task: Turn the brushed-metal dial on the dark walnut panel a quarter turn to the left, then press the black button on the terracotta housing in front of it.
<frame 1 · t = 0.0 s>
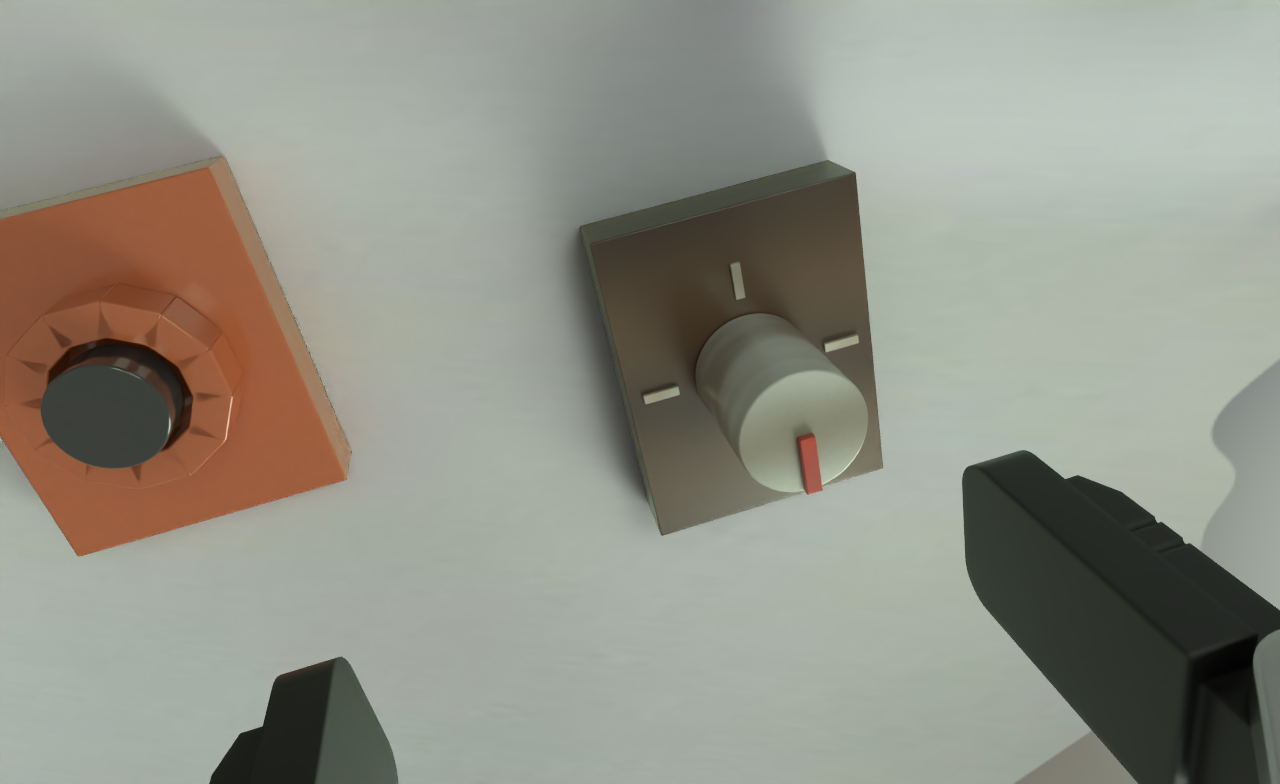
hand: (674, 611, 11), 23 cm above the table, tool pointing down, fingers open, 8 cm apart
button housing: (156, 353, 31), on the table
button: (115, 406, 27), point 4 cm above the table, slide at 0.1 cm
dial panel: (732, 344, 36), on the table
dial: (777, 400, 31), point 5 cm above the table, hinge at 0.0°
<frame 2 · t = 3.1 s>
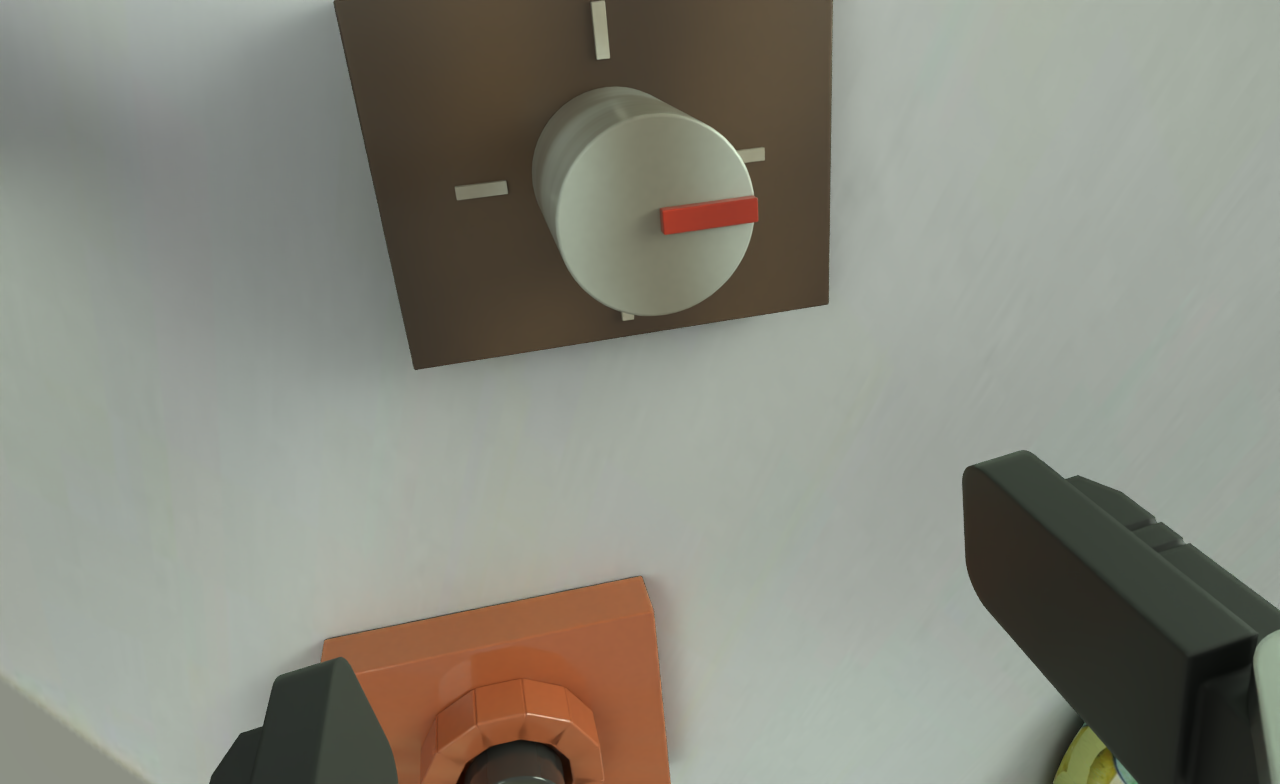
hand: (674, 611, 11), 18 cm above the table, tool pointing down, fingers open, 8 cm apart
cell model: (1122, 729, 44), on the table
button housing: (507, 703, 35), on the table
dial panel: (598, 156, 26), on the table
dial: (634, 195, 22), point 5 cm above the table, hinge at 0.0°
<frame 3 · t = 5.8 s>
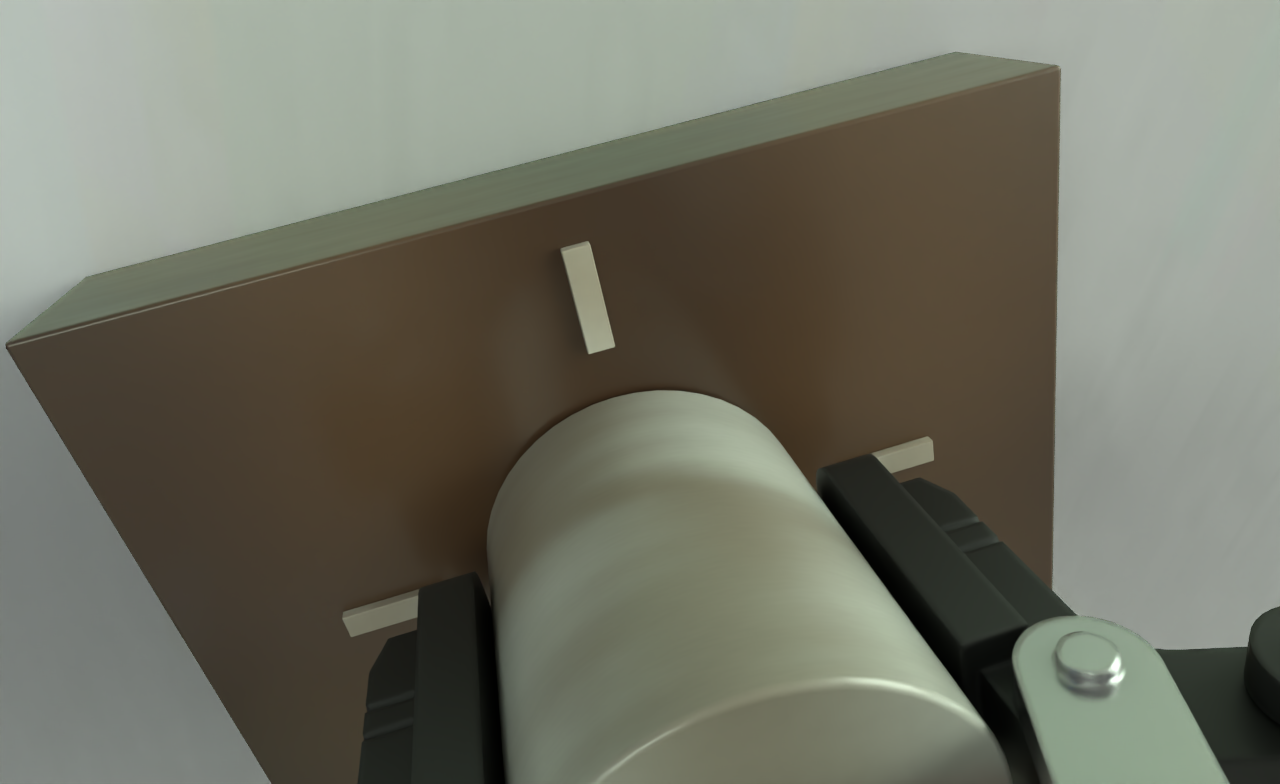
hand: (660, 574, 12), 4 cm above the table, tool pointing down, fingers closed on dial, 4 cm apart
dial panel: (616, 448, 15), on the table
dial: (700, 674, 10), point 5 cm above the table, hinge at -0.1°, touching gripper
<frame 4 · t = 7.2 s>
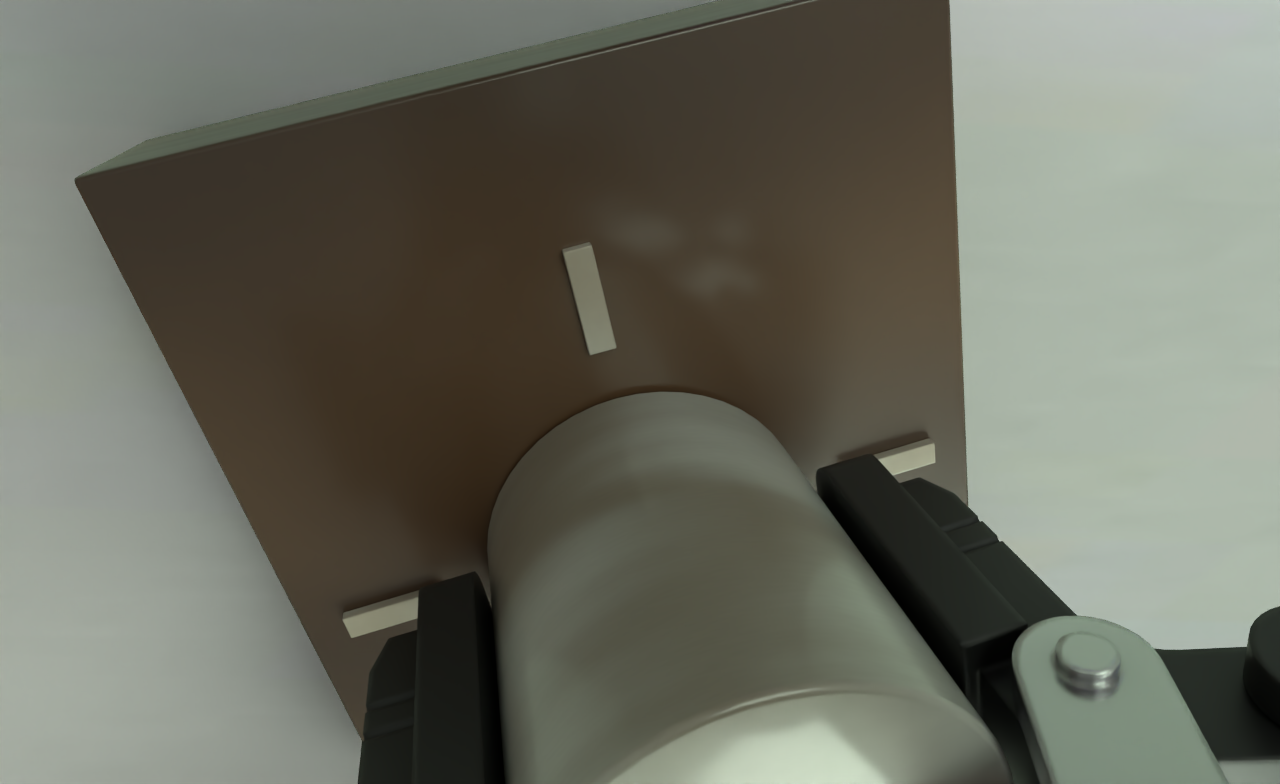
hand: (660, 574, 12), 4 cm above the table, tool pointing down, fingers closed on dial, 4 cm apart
dial panel: (617, 449, 15), on the table
dial: (701, 677, 10), point 5 cm above the table, hinge at 89.5°, touching gripper
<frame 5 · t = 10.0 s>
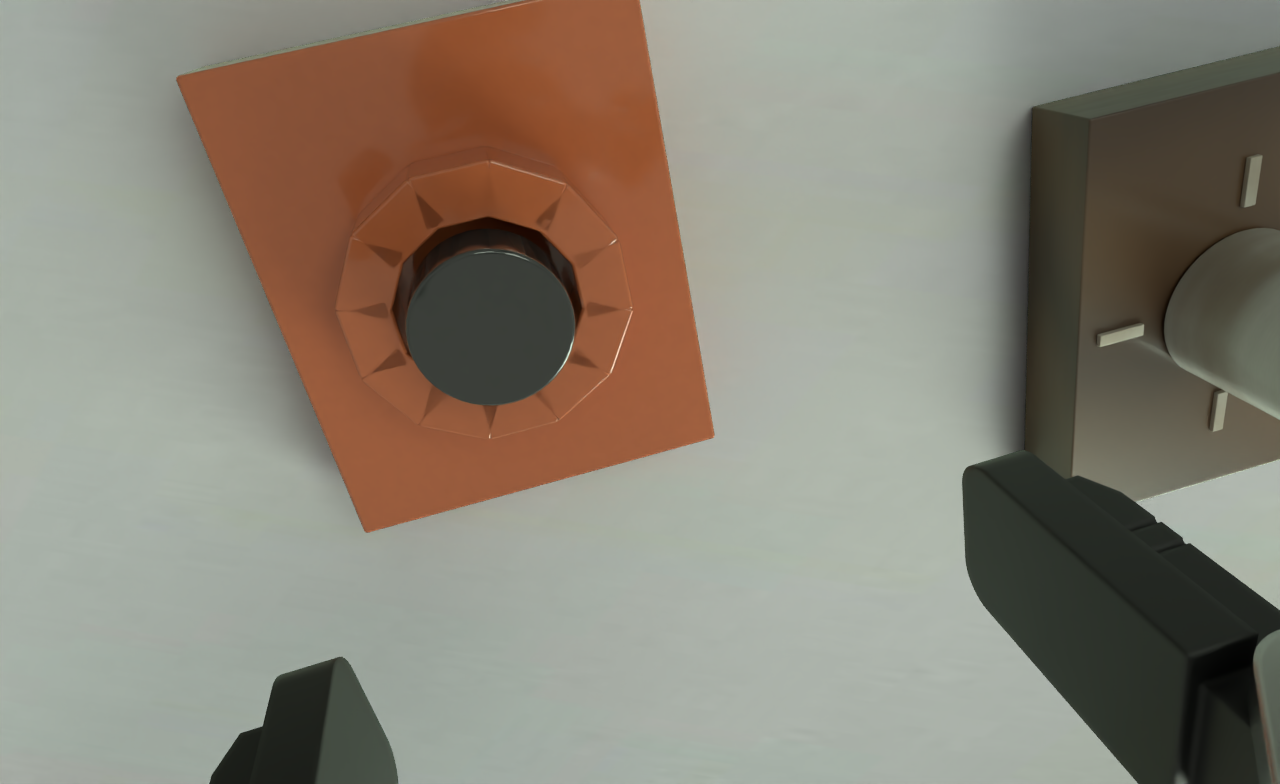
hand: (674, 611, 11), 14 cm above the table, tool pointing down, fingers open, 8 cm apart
button housing: (482, 259, 23), on the table
button: (490, 317, 19), point 4 cm above the table, slide at 0.1 cm
dial panel: (1169, 277, 28), on the table
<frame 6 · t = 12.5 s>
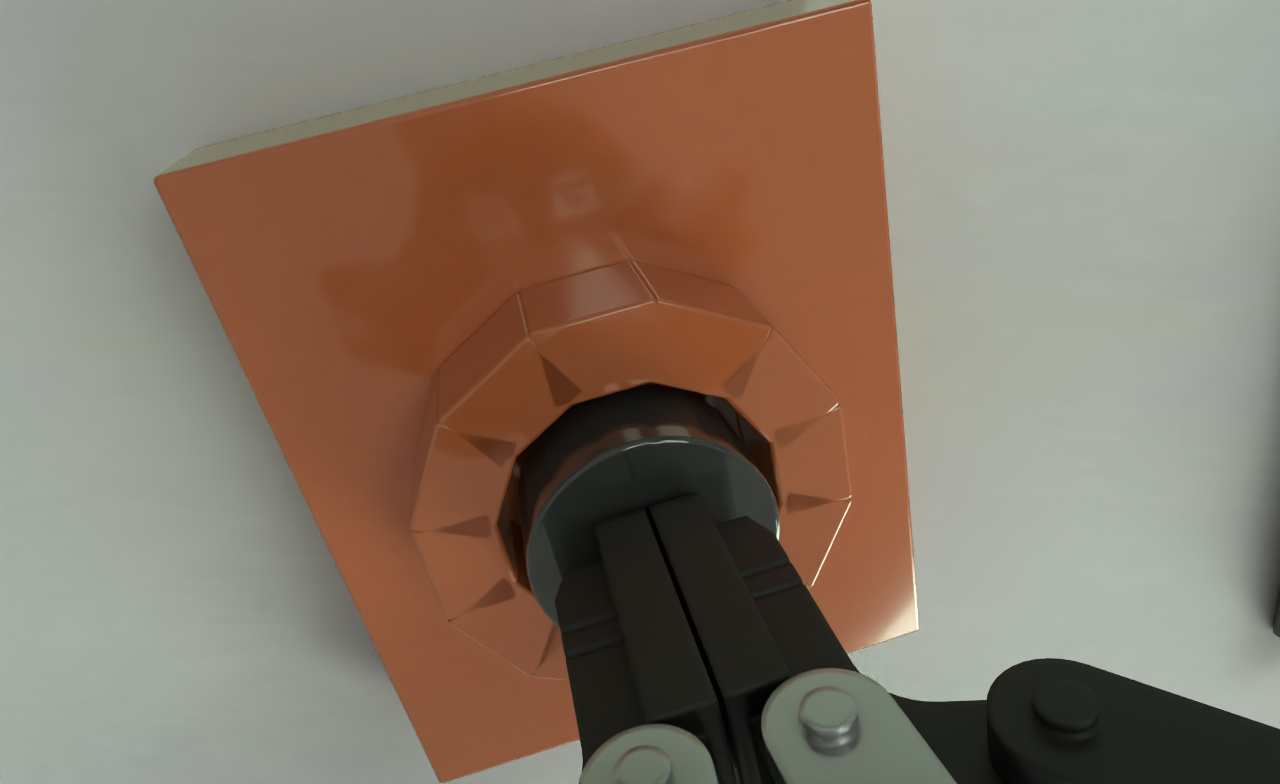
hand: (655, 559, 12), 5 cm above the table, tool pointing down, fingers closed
button housing: (599, 398, 16), on the table
button: (644, 518, 13), point 4 cm above the table, slide at -0.3 cm, touching gripper
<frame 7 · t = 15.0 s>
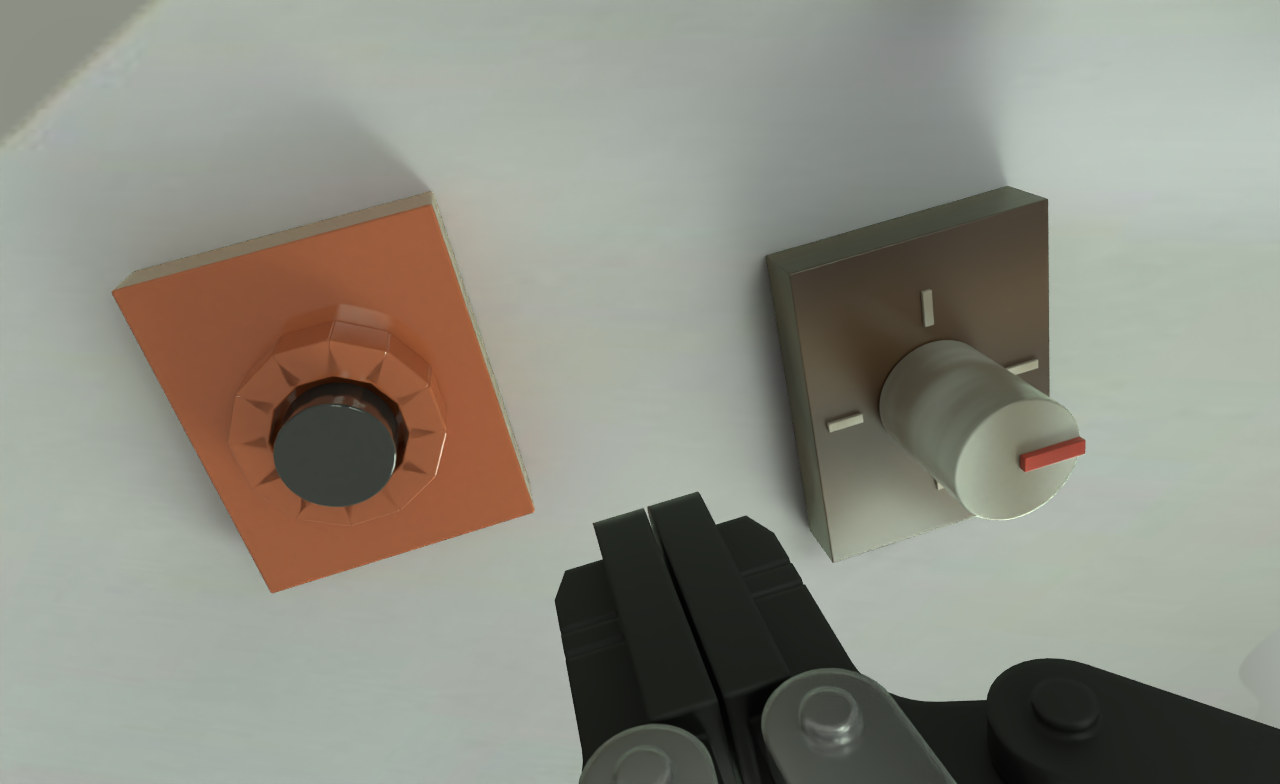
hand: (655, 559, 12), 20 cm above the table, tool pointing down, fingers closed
button housing: (351, 388, 31), on the table
button: (338, 444, 27), point 4 cm above the table, slide at 0.1 cm
dial panel: (902, 369, 36), on the table
dial: (974, 427, 31), point 5 cm above the table, hinge at 89.4°
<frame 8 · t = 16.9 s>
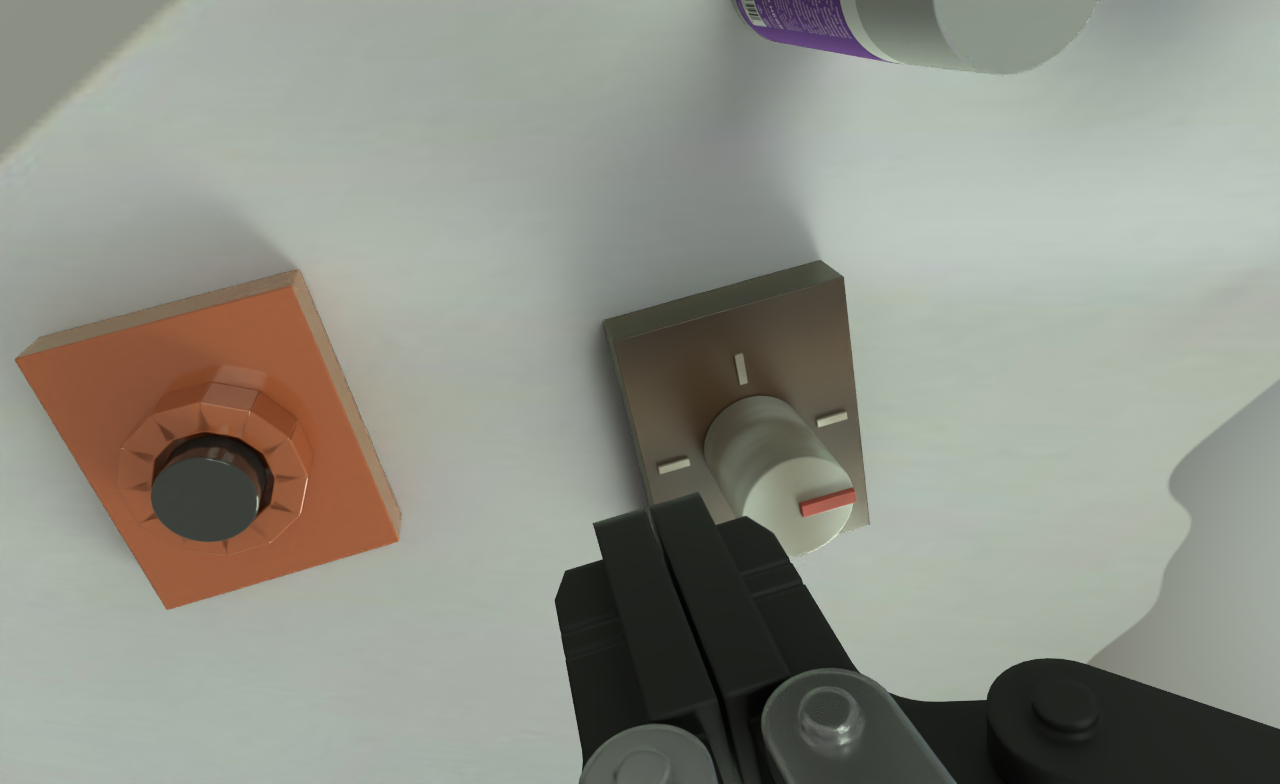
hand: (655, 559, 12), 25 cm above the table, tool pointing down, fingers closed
button housing: (236, 433, 36), on the table
button: (210, 489, 32), point 4 cm above the table, slide at 0.1 cm
dial panel: (736, 416, 41), on the table
dial: (775, 474, 36), point 5 cm above the table, hinge at 89.4°
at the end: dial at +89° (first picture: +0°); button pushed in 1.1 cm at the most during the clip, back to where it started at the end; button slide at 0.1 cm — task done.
